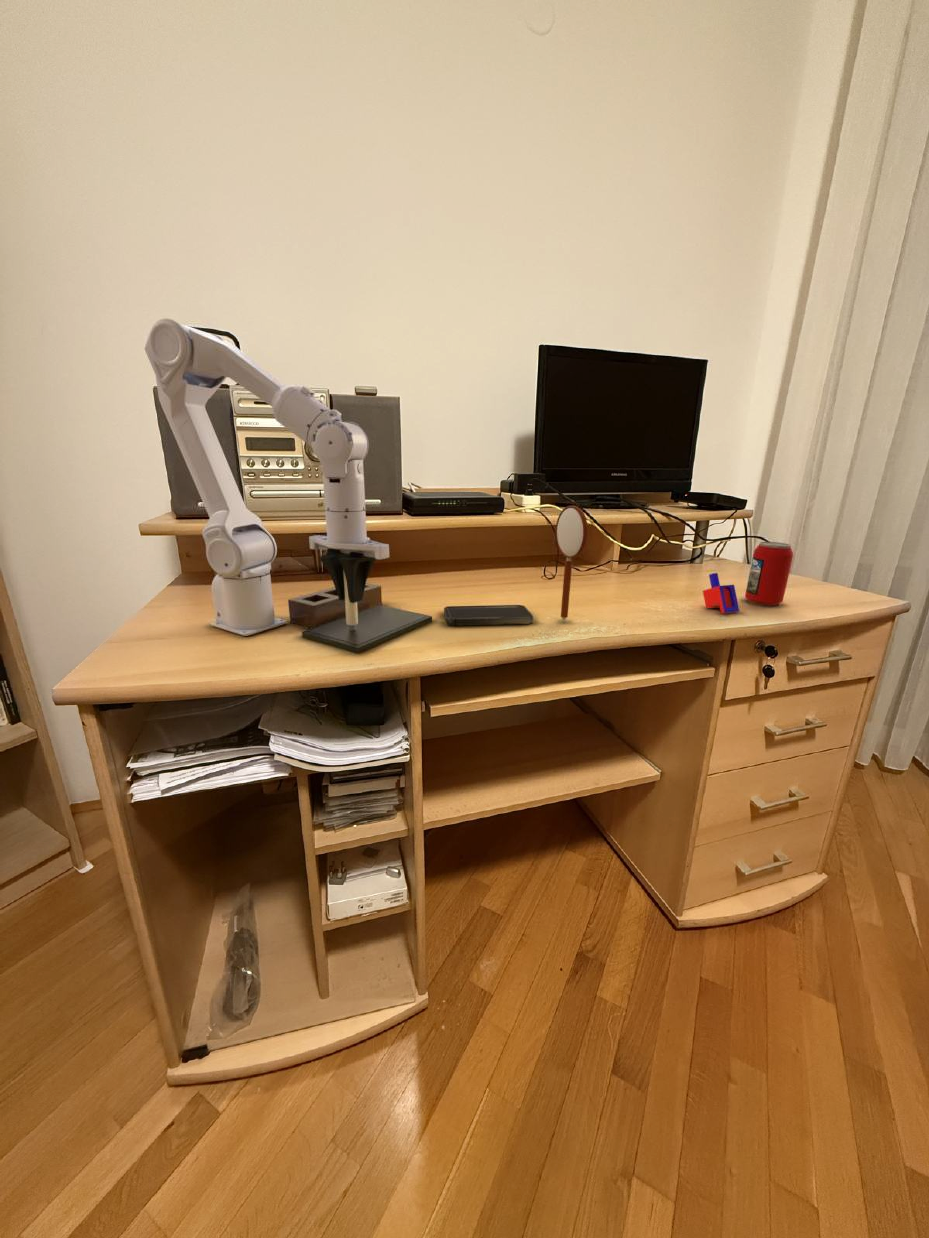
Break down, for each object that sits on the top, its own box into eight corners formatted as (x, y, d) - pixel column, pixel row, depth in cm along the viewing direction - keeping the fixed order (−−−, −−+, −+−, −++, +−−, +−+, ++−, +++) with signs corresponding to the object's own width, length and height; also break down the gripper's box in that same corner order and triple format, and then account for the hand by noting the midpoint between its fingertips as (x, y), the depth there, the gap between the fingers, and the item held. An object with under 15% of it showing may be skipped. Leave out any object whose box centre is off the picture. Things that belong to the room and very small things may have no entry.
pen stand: (289, 622, 83) (287, 599, 82) (357, 600, 96) (356, 580, 95) (315, 629, 80) (314, 605, 79) (382, 606, 93) (381, 585, 92)
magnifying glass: (547, 615, 89) (554, 503, 83) (555, 614, 90) (563, 503, 84) (573, 630, 82) (583, 508, 75) (581, 629, 82) (593, 508, 76)
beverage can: (746, 596, 105) (757, 540, 101) (783, 601, 101) (796, 543, 97) (741, 602, 99) (753, 544, 96) (780, 609, 96) (794, 548, 92)
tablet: (302, 637, 76) (301, 631, 76) (379, 609, 91) (379, 604, 91) (358, 654, 70) (358, 647, 70) (432, 621, 85) (432, 615, 84)
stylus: (344, 630, 77) (340, 561, 73) (352, 627, 78) (348, 559, 75) (352, 632, 76) (348, 562, 72) (360, 629, 77) (357, 560, 74)
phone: (443, 606, 89) (523, 604, 91) (443, 612, 90) (523, 610, 92) (447, 619, 82) (534, 617, 84) (447, 626, 82) (534, 623, 84)
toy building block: (722, 615, 96) (714, 576, 97) (739, 611, 92) (731, 570, 93) (707, 616, 95) (699, 577, 96) (724, 612, 91) (716, 571, 92)
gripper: (401, 511, 71) (404, 601, 75) (331, 505, 78) (336, 587, 82) (368, 515, 65) (372, 612, 69) (295, 508, 72) (303, 597, 77)
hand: (350, 600), depth 75 cm, fingers closed on stylus, 2 cm apart
